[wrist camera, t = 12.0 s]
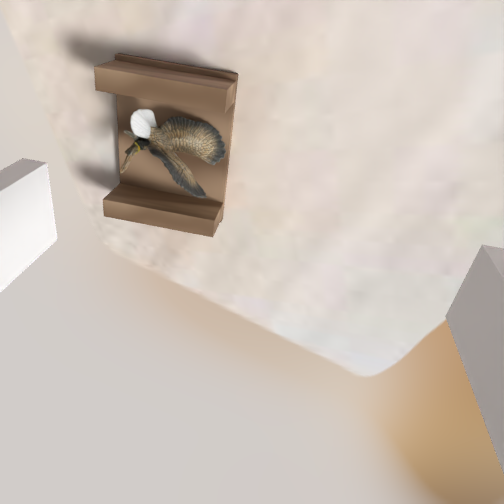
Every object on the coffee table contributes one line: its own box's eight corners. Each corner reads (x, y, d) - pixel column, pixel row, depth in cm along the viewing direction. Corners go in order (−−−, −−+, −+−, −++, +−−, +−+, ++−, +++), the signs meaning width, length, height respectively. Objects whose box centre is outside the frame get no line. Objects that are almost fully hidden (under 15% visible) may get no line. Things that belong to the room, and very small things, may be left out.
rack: (118, 53, 41) (93, 60, 37) (238, 73, 40) (227, 83, 36) (123, 200, 50) (104, 220, 45) (222, 218, 49) (212, 241, 45)
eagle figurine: (136, 181, 46) (210, 207, 44) (102, 164, 39) (189, 194, 37) (159, 115, 46) (235, 139, 44) (129, 86, 39) (218, 113, 37)
